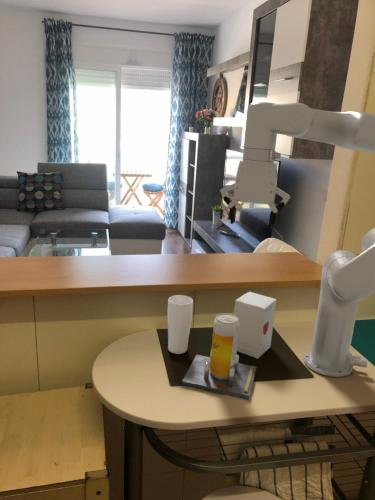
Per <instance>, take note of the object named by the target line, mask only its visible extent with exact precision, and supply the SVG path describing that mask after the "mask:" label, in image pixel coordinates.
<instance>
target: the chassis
mask: <svg viewBox="0 0 375 500" xmlns="http://www.w3.org/2000/svg"><path fill="white" fill-rule="evenodd" d="M239 359H240V355H239V354H236V362H235V368H234V367H230V371H229V378H228V379H219V378H216V377H214V376H213V375H212V373H211V372H210V361H211V350H210V353H209V356H205V355H199V354H196V355H195V356H194V358H193V360H192V363H191V364H190V366H189V368H188V370H187V372H186V373H185V374H184V375H185V376H184V377H183V378H182V382H181V383H182V384H181V386H183V387H188V388H191V389H197V390H199V391H200V390H201V391H206V392H211V393H215V394H220V395H223V396H227V397H233V398H236V399H241V400H246V401H250V396H251V393H252V389H253V385H254V381H255V376H256V373H257V366H254V365H249V364H245V363H240V362H239Z"/></svg>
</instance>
